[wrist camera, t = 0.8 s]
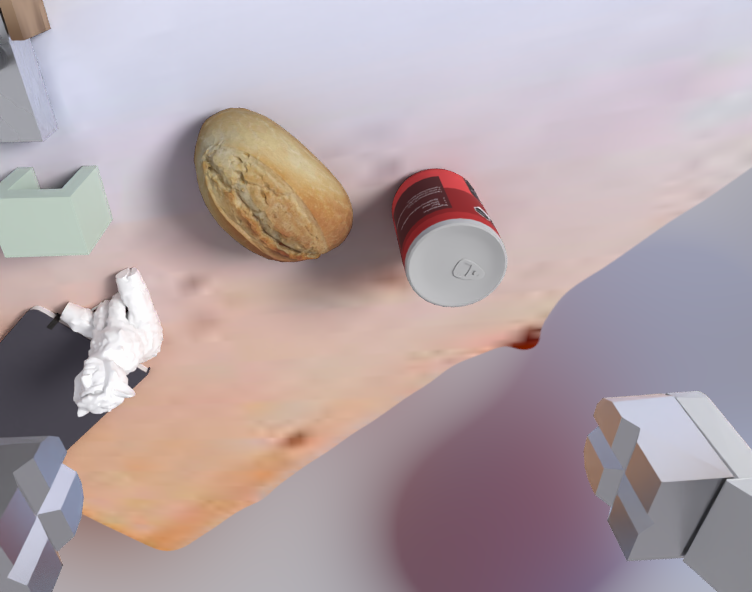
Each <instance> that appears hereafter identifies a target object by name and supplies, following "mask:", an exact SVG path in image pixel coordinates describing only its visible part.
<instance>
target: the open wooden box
mask: <svg viewBox="0 0 752 592" xmlns="http://www.w3.org/2000/svg"><path fill="white" fill-rule="evenodd" d="M0 8H1V11H2V14H3V17H4V20H5V23H6V26H7V29H8V32H9V35H10V38H11V41H24V40H26V39H29V38H31V37H33V36H35V35H38V34H40V33H42V32H45V31H47V30H49V29H51V28H50V25H49V21H48V18H47V14H46V11H45V7H44V4H43V1H42V0H0Z"/></svg>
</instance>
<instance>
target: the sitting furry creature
mask: <svg viewBox="0 0 752 592" xmlns="http://www.w3.org/2000/svg"><path fill="white" fill-rule="evenodd" d="M116 283H117V286H118V292H117V293H116V294H114V295H113V296H112V299H111V300H110V301H109V300H104V301H103V303H102V301H101V302H100V303H99V305H97V306H96V307H94V308H92V309H91V310H90V309H89V308H84V307H81V306H80V305H78V304H73V303H71V302H69V303H68V304H67V306H66V307H65V309H64V311H63V312H62V315H61V316H60V319H61V320H62V321H64V322H66V323H67V324H68V325H69V326H70V328H71V329H72V330H73V331H74V332H79V333H81V334H82V335H84V336H86V337H90V338H92V340H91V342H90V343H91V344H90V348H91V349H90V350H89V351H88V353H89V354H88V355H89V357H88V359H87V360H85V361H84V368H83V370H82V371H81V372H80V373H79V374H78V375H77V376H76V378H75V380H74V396H73V401H74V402H75V403H76V404H77V406H78V412H77V414H78V417H82V416H84V415H86V414H87V413H89V412H91V413H94V414H102V413H103V412H110V411H111V410H112V409H114V408H116V407H117V406H118V405H120V404H121V403H123V401H124V398H130V397H133V396H134V395H135V392H134V390H133V389H132V388H131V387H130V386H128V378H127V376H126V375H128V374H129V373H130V372H133V371H135V370H136V368H137V366H138V364H139V363H143V362H146V361H147V360H149V359H152V358H153V357H155V356H157V353H158V352H160V348H161V344H162V341H163V336H164V335H163V334H162V331H163V328H162V327H161V322H160V320H159V315H157V311H156V310H155V309H154V304H153V303H152V300H151V298H150V293H149V290H148V289H147V288H146V284H145V282H144V281H143V279H142V276H141V273H140V272H139V271H138V269H137V268H136V267H133V268H132V270H131V269H129V268H127V269H124V270H122V271H120V272H119V273H118V274H117V275H116ZM126 307H128V312H127V313H125V311H126ZM96 308H97V310H96V311H95V312H93V310H95V309H96Z"/></svg>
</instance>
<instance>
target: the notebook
mask: <svg viewBox="0 0 752 592" xmlns="http://www.w3.org/2000/svg"><path fill="white" fill-rule="evenodd" d="M60 316H61V315H60V314H58V313H57V314H54V313H53V312H51V311H49V310H48V309H46V308H44V307H42V306H34V307H32V308H31V309H30V310H29V311H28V312H27V313H26V314H25V315H24V316H23V317H22V318H21V319H20V321H19V322H18V323H17V324H16V325H15V326H14V327H13V329H12V330H11V331H10V332H9V333H8V334H7V336H6V337H5V338H4V339H3V340H2V341H1V342H0V438H9V437H32V436H56V437H59V438H60V440H61V442H62V444H63V445H64V447H65V449H66V451H67V450H68V449H69V448H70V447H71V446H72V445H73V444H74V443H75V442H76V441H77V440H78V439H80V438H81V437H82V436H83V435H84V434H85V433H86V432H87V431H88V430H89V429H90V428H91V427H92V426H93V425H94V424H95V423H97V422H98V421H99V420H100V419H101V418H102V417H103V416H104V415H105V414H106V413H107V412H103V413H102V414H94V413H91V412H89V413H87V414H86V415H84V416H82V417H78V414H77V412H78V406H77V404H76V403H75V402H74V401H73V396H74V380H75V378H76V376H77V375H78V374H79V373H80V372H81V371H82V370H83V368H84V361H85V360H87V359H88V357H89V355H88V354H89V353H88V351H89V350H90V349H91V348H90V344H91V343H90V342H91V340H92V338H90V337H86V336H84V335H82V334H81V333H79V332H74V331H73V330H72V329H71V328H70V326H69V325H68V324H67V323H66V322H64V321H62V320H61V319H60ZM149 370H150V367H149V368H147V367H145V366H144V365H142V364H140V363H139V364H138V366H137V368H136V370H135V371H133V372H130V373H129V374H128V375H126V376H127V378H128V386H130V387H131V388H132V389H133V388H134V387H135V386H136V385H137V384H138V383H139V382H140V381H141V380H142V379H143V378H145V377H146V376H147V375H148V373H149Z"/></svg>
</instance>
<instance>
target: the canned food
mask: <svg viewBox="0 0 752 592" xmlns="http://www.w3.org/2000/svg"><path fill="white" fill-rule="evenodd" d="M392 218H393V222H394V226H395V231H396V235H397V240H398V244H399V248H400V253H401V257H402V262H403V266H404V269H405V273H406V276H407V279H408V281H409V283H410V285H411V287H412V288H413V290H414V291H415V292H416V293H417V294H418V295H419V296H420V297H421V298H423V299H424V300H426V301H427V302H430V303H432V304H434V305H438V306H443V307H461V306H466V305H470V304H473V303H475V302H478V301H480V300H482V299H483V298H485V297H487V296H488V295H489V294H490V293H492V292H493V291H494V290H495V289H496V288H497V286H498V285H499V284H500V283H501V281H502V279H503V277H504V275H505V272H506V268H507V254H506V250H505V246H504V244H503V242H502V240H501V238H500V236H499V234H498V232H497V230H496V228H495V226H494V225H493V223H492V221H491V219H490V217H489V216H488V214H487V212H486V210H485V209H484V207H483V205H482V203H481V202H480V200H479V198H478V196H477V194H476V193H475V191H474V189H473V188H472V186H471V185H470V184H469V182H468V181H467V180H465V179H464V178H463V177H462V176H460V175H458V174H456V173H454V172H451V171H448V170H445V169H427V170H423V171H420V172H418V173H415V174H413V175H412V176H410V177H409V178H408V179H406V180H405V181H404V182H403V183H402V185H401V186H400V187H399V189H398V191H397V192H396V194H395V197H394V200H393V204H392Z"/></svg>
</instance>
